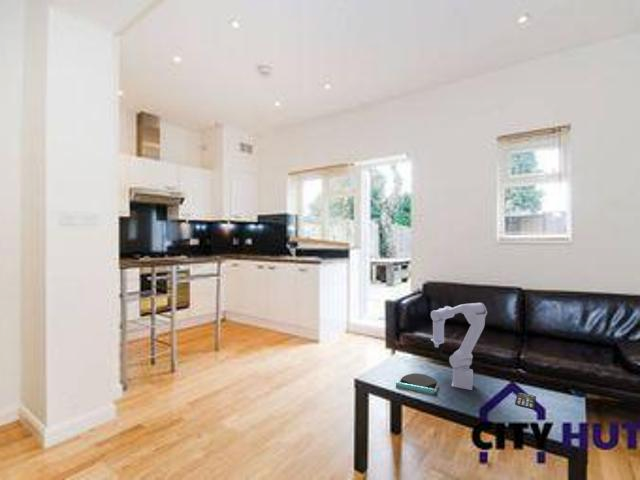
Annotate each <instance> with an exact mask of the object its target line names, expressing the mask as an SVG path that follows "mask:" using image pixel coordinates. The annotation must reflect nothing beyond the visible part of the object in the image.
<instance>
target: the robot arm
mask: <svg viewBox="0 0 640 480" xmlns="http://www.w3.org/2000/svg"><path fill="white" fill-rule="evenodd" d="M487 310H488V309H487V308H486V305H485V304H484V303H483V302H474V303H473V302H471V303H463V304H459V305H456V306H454V307H451V306H449V305H445V306H444V307H443V308H442V307H440V308H438V309H436V310H435V309H433V310H432V311H430V318H431V320H432V338H431V339H430V341H431V342H433V343H432V347H433V350H434V352H435V353H434V354H435V357H436V358H441V357H442V351H443V347H444V345H445V323H446V320H448V319H451V318H454V317H455V315H457V314H459V313H460V314H463V316H464V317H465V319H466V321H467V322H468V324H469V325H470V326H469V328H468V330H467V332H466V334H465V336H464V339H463V341H462V342H461V345H460V347H459V349H457V350H456V351H454V352H453V354H451V355H450V356H449V361H448V362H449V364H450V366H451V367H452V382H451V387H453V388H457V389H458V388H459V389H464V390H470V391H473V385H474V380H473V379H474V376H473V374H474V370H473V369H471V368H470V366H472V364H473V357H474V355H473V353H472V352H473V350H474V348H475V347H476V344H477V342H478V340H479V338H480V337H481V334H482V333H483V331H484V328H485V325H486V323H485V322H486V317H487V314H488V311H487Z"/></svg>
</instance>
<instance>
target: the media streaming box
mask: <svg viewBox="0 0 640 480" xmlns="http://www.w3.org/2000/svg"><path fill="white" fill-rule="evenodd" d="M401 383H406V384H411V385H417V386H422V387H427V388H433V389H435V387H436V384H438V380H436V379H435V378H433V377H431V376H429V375H427V374H423V373H417V372H416V373H414V372H413V373H408V374H406V375H404V376H402V382H401Z"/></svg>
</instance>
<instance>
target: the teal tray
mask: <svg viewBox="0 0 640 480" xmlns="http://www.w3.org/2000/svg"><path fill="white" fill-rule="evenodd" d="M402 377H403V376H402ZM402 377H400V378H399V379H398V381H396V382H395V388H397V389H401V390H402V389H403V390H407V391H411V392H412V391H413V392H417V393H423V394H426V395H427V394H428V395H431V396H432V395H433V396H437V394H438V391H439V386H440V384H439V383H437V384H436V387H435V388H427V387H422V386H417V385H411V384H406V383H402Z"/></svg>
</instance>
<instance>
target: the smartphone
mask: <svg viewBox="0 0 640 480" xmlns="http://www.w3.org/2000/svg"><path fill="white" fill-rule="evenodd" d="M536 399H537V397H536V396H535V395H533V394H530V393H525V392H524V393H523V392H517V394H516V398H515V402H514V404H515V406H518V407H521V408H525V409H530V410H535V407H536Z"/></svg>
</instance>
